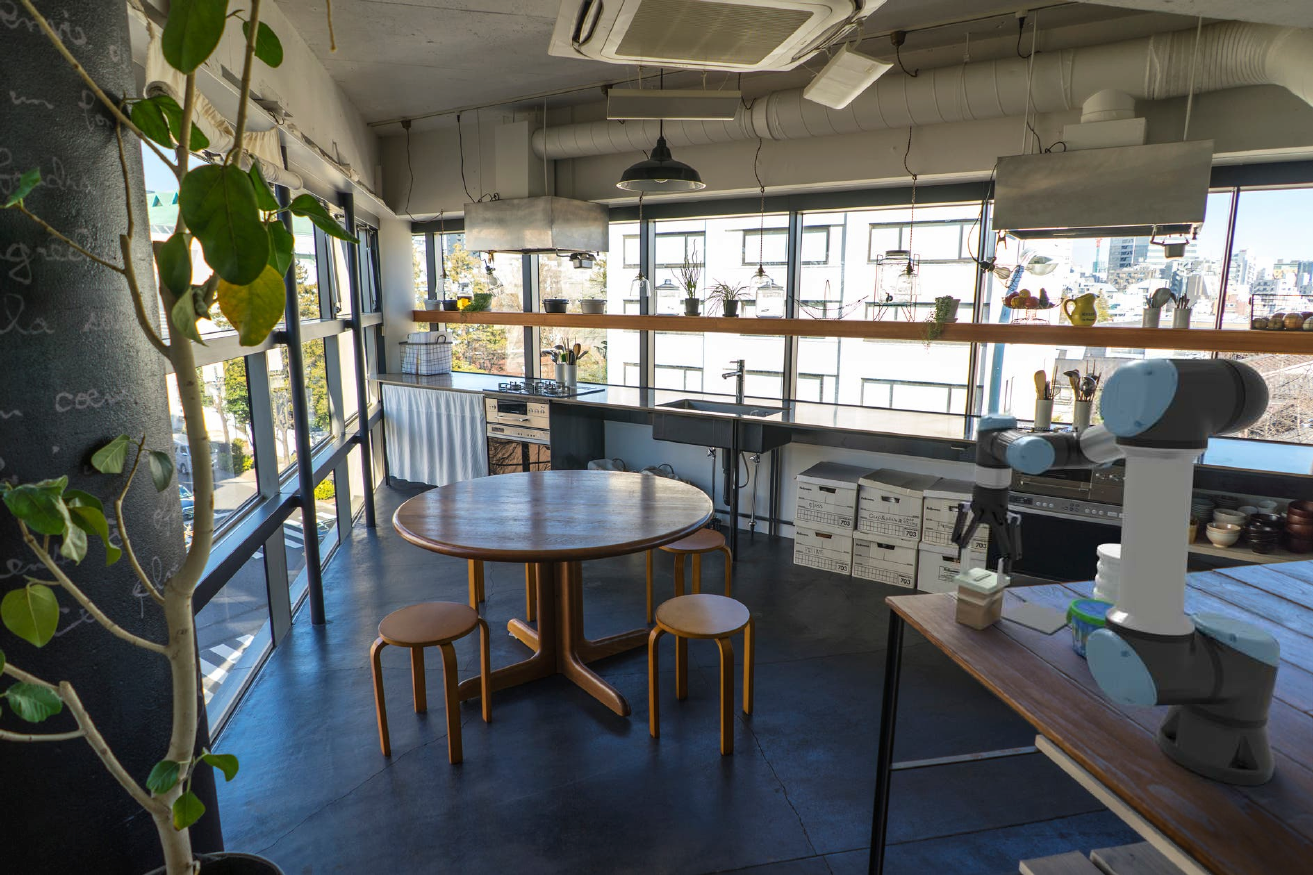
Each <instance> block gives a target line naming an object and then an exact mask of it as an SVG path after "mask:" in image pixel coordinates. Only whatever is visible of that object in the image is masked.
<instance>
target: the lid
mask: <svg viewBox="0 0 1313 875" xmlns="http://www.w3.org/2000/svg"><path fill="white" fill-rule="evenodd" d="M997 574H998V572H994V571H993V572H992V571H990V570H986V569H984V568H981V567H974V568H972V569H969V571H967V572H965V573H963V574H960V575H959V574H958V575H956V576H954V577H953V584H955V585H957V586H959V585H961V586H963V587H966V588H969V589H972V590H975V591H978V592H981V593H984V594H987V595H988V594H990V593H992V592H994V591H996V590H998V589H1000V588H996V583H997ZM1010 584H1011V577H1009V576H1006V585H1005V586H1008V585H1010ZM1005 586H1003V587H1004V588H1005ZM1001 588H1002V587H1001Z"/></svg>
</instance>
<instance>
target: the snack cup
mask: <svg viewBox="0 0 1313 875" xmlns="http://www.w3.org/2000/svg"><path fill="white" fill-rule="evenodd" d="M1113 606H1115V604H1112V603H1109V602H1106V601H1101V600H1096V599H1094V598H1078V599H1077V598H1076V599H1074V600H1072V601H1071V602H1070V605H1069V607H1068V609H1067V611H1066V612H1067V613H1066V614H1067V615H1066V620H1067V622H1068V624H1071V629H1072V630H1071V632H1072V633H1071V636H1072V638H1071V640H1072V649H1073V651H1075V653H1077V654H1079V655H1081V656H1083V657H1084V658H1085V659H1086V660H1087V656H1086V643H1087V639H1088V637H1089V636H1090V635H1091V633H1092V632H1094V631H1096V630H1098V629H1102V628H1103V629H1105V616H1106V611H1107V610H1109V609H1110V608H1112V607H1113Z"/></svg>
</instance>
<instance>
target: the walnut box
mask: <svg viewBox="0 0 1313 875" xmlns="http://www.w3.org/2000/svg"><path fill="white" fill-rule="evenodd" d="M1004 590H1005V586H1004V587H1002V588H1000V589H998V590H996V591H994V592H992V593H990V594H988V595H987V594H984V593H981V592H978V591H975V590H972V589H969V588H966V587H963V586H961V585H958V589H957V595H956V596H957V600H956V610H955V619H954V621H955V622H957V623H961V624H963V625H966V626H968V627H972V628H973V629H976V630H979V631H982V630H983V629H985V628H987V627H989V626H991V625H993V624H994V623H997V622H998V621H1000V620H1001V619H1002V618H1001V615H1002V611H1003V610H1002V607H1003V597H1004V594H1005V591H1004Z"/></svg>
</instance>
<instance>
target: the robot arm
mask: <svg viewBox="0 0 1313 875" xmlns="http://www.w3.org/2000/svg"><path fill="white" fill-rule="evenodd" d="M1105 381H1106V382H1105V384H1104V386H1103V387H1102V390H1101V392H1100V397H1099V404H1098V407H1099V409H1098V410H1099V418H1100V419H1101V421H1103V422H1101V423H1098V424H1095V425H1093V426H1090V427H1087V428H1084V429H1082V430H1079V431H1075V432H1074V431H1073V432H1024V431H1020V430H1018V419H1017V418H1016V417H1015V416H1013V415H1009V414H1005V413H1004V414H1003V413H1002V414H1001V413H987V414H984V415H982V416H980V418H979V423H978V424H979V425H978V429H977V431H976V432H977V438H976V449H975V450H976V451H975V462H974V464H975V465H974V471H973V481H974V483H973V485H972V492H971V501H970V502H968V501H965V500H964V501H962V502H959V503H957V515H956V519H955V523H954V526H953V531H952V534H951V538H950V542H951V543H953V544H955V545H957V546H958V550H957V560H958V561H960V563H959V564H960V565H959V574H958V575H960V574H963V573H965V572H967V571H969V570H970V562H971V553H972V552H971V551H972V550H971V549H972V547H971V546H969V545H970V542H971V540H972V538H973V536H975V533H976V532H977V530H978V529H979V527H980V526H981V525H987V526H989V527H991V529H992V531H993V532H994V534H995V537H996V541H997V544H998V547H999V550H1000V553H1001V557H1002V558H1000V559H998V565H997V583H996V588H1001V587H1003V586H1004V587H1005V585H1006V577H1007V575H1009V574H1011V573H1012V564H1013V562H1016V561H1017V560H1020V559H1022V557H1023V550H1022V537H1021V535H1022V534H1021V533H1022V532H1021V523H1022V521H1023V520H1022V519H1023V516H1022V514H1015V513H1012V512H1010V510H1009V501H1010V496H1011V494H1010V492H1011V487H1010V486H1009V485H1011V484H1012V473H1013V469H1015V470H1016V471H1020V472H1021V473H1025V474H1029V475H1038V474H1041V473H1044V472H1045V471H1047V470H1063V469H1067V470H1069V469H1070V470H1071V469H1074V470H1075V469H1083V470H1085V469H1087V470H1096V469H1103V468H1108V467H1110V466H1112V465H1113V463H1114V462H1115V461H1116V460H1119V459H1122V458H1125V468H1124V471H1125V472H1124V487H1123V488H1124V489H1123V502H1122V503H1123V504H1122V517H1121V518H1122V519H1121V520H1122V521H1121V522H1122V523H1121V536H1120V538H1121V540H1120V544H1121V552H1120V569H1119V586H1118V603H1117V604H1116V605H1115V606H1113V607H1112V608H1110V609H1109V610H1107V611H1106V616H1105V629H1103V628H1102V629H1098V630H1096V631H1094V632H1092V633H1091V635H1090V636H1089V637H1088V639H1087V643H1086V656H1087V659H1086V660H1087V661H1086V662H1087V664H1088V668H1089V670H1090V673H1091V675H1092V677H1093V679H1094V680H1095V682H1096V684H1097V686H1098V687H1099V688H1100V690H1102V692H1103V693H1104V694H1105V695H1106V696H1107V697H1108V698H1110V699H1111V700H1112V701H1114V702H1116V703H1117V704H1119V705H1123V706H1125V707H1126V706H1127V707H1143V708H1153V707H1163V706H1164V707H1165V706H1170V707H1169V708H1168V710H1167V712H1165V714H1164V715H1163V717H1162V719H1161V720H1160V721H1159V724H1158V726H1157V730H1156V731H1157V732H1156V737H1155V739H1156V742H1157V743H1156V744H1158V747H1159V748H1160V750H1161V751H1162V752H1163V753H1164V754H1165V755H1166V756H1167V757H1169V758H1170V759H1171V760H1173V761H1174V762H1176V763H1177V764H1179V765H1180V766H1182V767H1184V768H1186V769H1187V770H1189V771H1192V772H1194V773H1196V774H1198V775H1201V776H1203V777H1207V778H1208V779H1209V778H1210V779H1212V780H1215V781H1219V782H1223V783H1227V784H1231V785H1236V786H1237V785H1238V786H1258V785H1263V784H1266V783H1268V782H1270V781H1271V779H1272V778H1273V773H1274V769H1275V759H1274V758H1275V757H1274V754H1273V748H1272V745H1271V742H1270V737H1269V732H1268V728H1267V725H1268V719H1269V715H1270V710H1271V705H1272V699H1273V695H1274V690H1275V686H1276V682H1277V676H1278V671H1279V668H1280V667H1281V663H1280V657H1281V656H1280V654H1281V645H1280V643H1279V641H1278V640H1277V638H1276V637H1274V636H1273V635H1272V634H1270V633H1269V632H1267V631H1266V630H1264V629H1262V628H1260V627H1258V626H1255V625H1253V624H1251V623H1249V622H1246V621H1243V620H1240V619H1238V618H1235V617H1232V616H1228V615H1224V614H1219V613H1215V612H1207V611H1195V612H1193V613H1190V616H1189V617H1187V616H1186V615H1185V613H1184V612H1185V598H1186V585H1187V569H1188V555H1189V553H1188V552H1189V540H1190V526H1191V509H1192V497H1193V496H1192V495H1193V482H1194V469H1195V468H1194V467H1195V466H1194V465H1195V464H1194V463H1195V461H1196V459H1197V458H1198V457H1200V456H1201V455H1202V454H1204V453H1205V452H1206V451H1208V450H1209V439H1215V438H1219V437H1222V436H1225V435H1226V436H1227V435H1230V434H1235V433H1238V432H1242V431H1244V430H1247V429H1248V428H1251V427H1252V426H1254V425H1255V424H1256V423H1258V422H1259V420H1260V419H1261V418H1263V415H1264V414H1265V413H1266V411H1267V409H1268V406H1269V401H1270V400H1269V399H1270V392H1269V387H1268V385H1267V383H1266V381H1265V379H1264V378H1263V376H1262V375H1261V374H1260V373H1259V372H1258V371H1257V370H1255V368H1253V367H1251V366H1250V365H1249V364H1246V363H1244V362H1241V361H1238V360H1234V359H1231V358H1221V357H1220V358H1218V357H1217V358H1216V357H1214V358H1167V357H1165V358H1164V357H1163V358H1162V357H1156V358H1155V357H1154V358H1146V359H1145V358H1143V359H1134V360H1130V361H1128V362H1126V363H1124V364H1122V365H1121V366H1119V367H1118V368H1116V369H1115V370H1114V372H1113V373H1112V374H1110V375H1109V377H1108V379H1107V380H1105ZM970 510H971V512H972V514H973V516H972V518H971V520H970V522H969V524H968V526H967V528H966V530H965V531H964V529H965V526H966V523H967V520H968V517H969V512H970ZM1005 519H1007V523H1008V524H1009V525H1008V527H1009V529H1008V531H1009V532H1008V533H1009V538H1008V534H1007V530H1006V523H1005ZM1006 586H1007V585H1006Z"/></svg>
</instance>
